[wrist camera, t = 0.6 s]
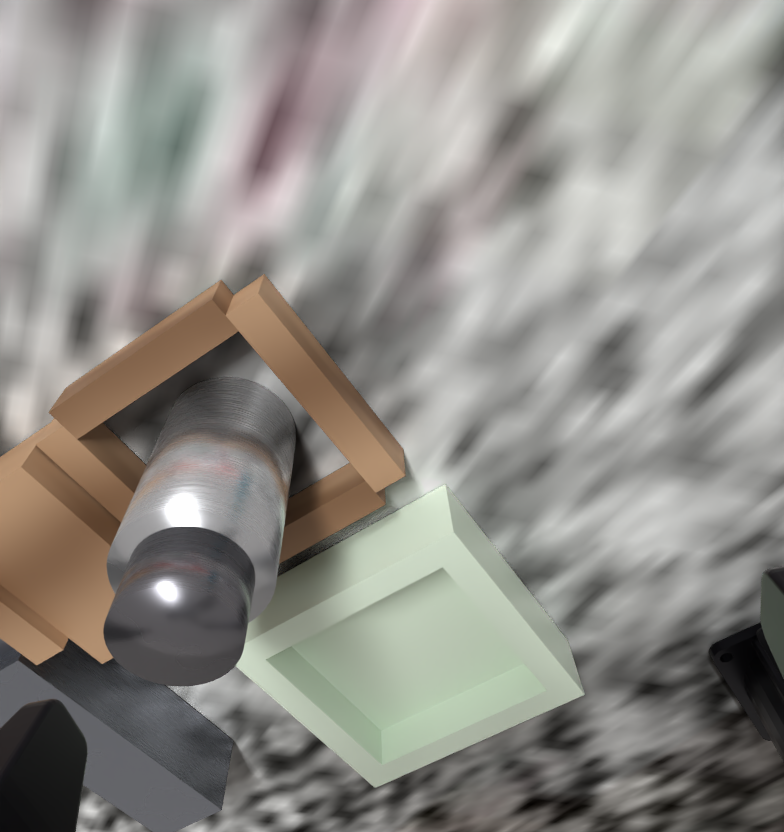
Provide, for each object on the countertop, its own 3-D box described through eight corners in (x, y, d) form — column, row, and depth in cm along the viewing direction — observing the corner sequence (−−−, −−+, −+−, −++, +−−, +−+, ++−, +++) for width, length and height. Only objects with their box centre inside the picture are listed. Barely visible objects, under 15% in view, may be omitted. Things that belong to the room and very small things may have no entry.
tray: (567, 640, 29) (584, 694, 27) (373, 731, 31) (375, 788, 29) (445, 483, 25) (453, 532, 23) (233, 601, 27) (222, 654, 25)
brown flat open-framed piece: (412, 460, 24) (418, 518, 22) (18, 685, 29) (-16, 755, 26) (251, 258, 21) (236, 298, 18) (-169, 551, 25) (-230, 616, 23)
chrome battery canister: (321, 446, 24) (304, 653, 17) (224, 504, 25) (167, 724, 18) (241, 353, 22) (182, 538, 15) (140, 419, 23) (38, 623, 16)
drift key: (233, 740, 31) (221, 810, 28) (177, 767, 32) (161, 837, 29) (25, 573, 26) (-12, 638, 23) (-34, 610, 27) (-77, 677, 24)
